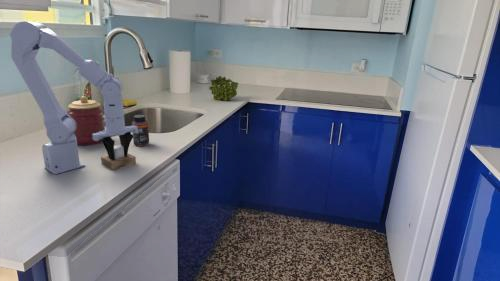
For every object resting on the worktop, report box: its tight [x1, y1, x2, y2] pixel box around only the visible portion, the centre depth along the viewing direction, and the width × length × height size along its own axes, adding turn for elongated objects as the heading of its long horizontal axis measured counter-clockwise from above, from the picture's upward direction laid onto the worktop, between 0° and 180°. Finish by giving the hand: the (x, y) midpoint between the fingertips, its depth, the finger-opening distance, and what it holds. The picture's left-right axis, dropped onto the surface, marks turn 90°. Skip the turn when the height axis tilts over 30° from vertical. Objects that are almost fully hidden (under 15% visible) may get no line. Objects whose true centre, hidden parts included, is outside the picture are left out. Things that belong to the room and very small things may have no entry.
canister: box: [66, 95, 106, 146], centre depth 132 cm, size 13×13×18 cm
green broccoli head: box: [209, 75, 239, 101], centre depth 217 cm, size 18×16×16 cm
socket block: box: [100, 152, 137, 171], centre depth 113 cm, size 8×8×3 cm
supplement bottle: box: [131, 114, 150, 147], centre depth 131 cm, size 6×6×11 cm
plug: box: [113, 144, 125, 161], centre depth 112 cm, size 4×4×5 cm
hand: (118, 156), depth 113 cm, fingers closed on plug, 4 cm apart
